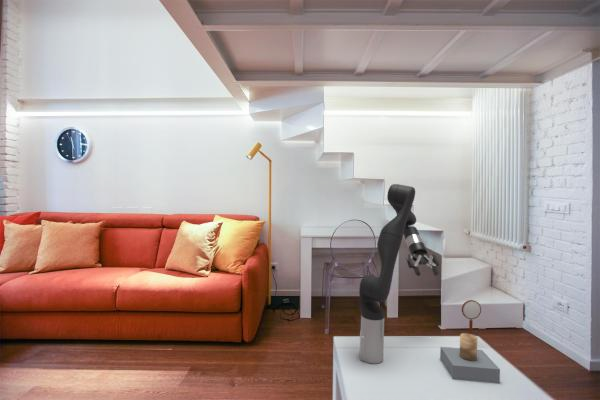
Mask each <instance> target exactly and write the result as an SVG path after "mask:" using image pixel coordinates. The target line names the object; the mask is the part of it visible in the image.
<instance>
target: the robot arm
mask: <svg viewBox="0 0 600 400" xmlns="http://www.w3.org/2000/svg"><path fill="white" fill-rule="evenodd" d="M415 196H416V188H415V187H413V186H409V185H404V184H399V183H393V184H391V185H390V186H389V188H388V191H387V196H386V197H387V199H386V200H387V201H388V203H389V205H390V206H391V207H392V209H393V210H394V211H395V214H396V216H394V217H393V218H392V219H391V220H390V221H389V222H387V223H386V224H385V225H384V226H383V227H382V228H381V230H380V232H379V237H378V240H377V243H376V246H377V247H376V248H377V251H378V256H379V259H380V263H381V264H380V265H381V267H380V268H381V269H380V273H379V276H375V275H370V274H365V275H364V276H363V277H362V278H361V281H360V282H359V293H358V294H359V309H360V312H361V313H360V331H359V359H360V361H361V362H365V363H368V364H372V365H373V364H381V363H383V361H384V345H385V344H384V342H385V341H384V340H385V310H384V309H383V308H382V307H381V306H380V305H379V304H378V303H384V302H386V301H387V299H388V298H389V295H390V291H391V287H392V282H393V276H394V272H395V265H396V261H397V257H398V256H399V255H398V254H399V252H400V251H399V250H400V249H401V245H402V241H403V237H404V240H405V241H406V246H407V248H408V250H409V253H410V254H407V255H406V256H405V257H406V258H405V260H406V262H407V266H408V268H409V269H413V271H414V272H415V273H414V274H415V275H416V276H418V277H420V276H421V275H422V274H421V271H420V267H419V265H420V266H422V265H423V266H425V265H426V266H427V267H430V268H431V270H432V272H433V275H434V277H436V276H438V275H439V270H438V268H439V266H440V262H439V260H438V258H437V257H436V255H435V254H432V255H431V254H430V255H429V253H428V250H427V248H426V246H425V243H424V241H423V238H422V237H421V235H420V233H419V231H418V228H417V227H415V226H414V225H415V224H416V223H417V217H416V215H415V213H413V212H412V210H411V209H412V206H413V204H414V201H415V199H416V198H415ZM413 261H414V262H413ZM377 302H378V303H377Z"/></svg>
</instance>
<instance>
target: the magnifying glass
mask: <svg viewBox="0 0 600 400" xmlns="http://www.w3.org/2000/svg"><path fill="white" fill-rule="evenodd" d="M461 312H462V315H463V316H464V318H466V319H468V320H469V325H468V326H469V327H468V328H469V329H468V334H472V335H473V322H474V321H473V320H475V319H477V318H478V317H479V316H480V315H481V313H482V307H481V305H480V303H479V302H478V301H477V300H473V299H470V300H469V299H468V300H466V301H465V302H464V303H463V304H462V306H461Z"/></svg>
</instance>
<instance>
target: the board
mask: <svg viewBox="0 0 600 400" xmlns="http://www.w3.org/2000/svg"><path fill="white" fill-rule="evenodd" d="M439 353H440V355H439V357H440V358H439V359H440V361H441V362H442V365H443V366H444V367H445V369H446V370H447V372H448V374H449V376H450V377H451V379H453V380H461V381H471V382H472V381H473V382H483V383H484V382H485V383H495V384H500V381H501V380H500V379H501V369H500V368H499V367H498V366H497V364H496V363H495V362H494V361H493V360H492V359H491V358H490V356H488V354H486V353H485V351H484V350H482V349H477V360H476V361H468V360H464V359H463V358H461V357H460V347H459V348H458V347H447V346H440V352H439Z"/></svg>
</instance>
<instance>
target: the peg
mask: <svg viewBox="0 0 600 400" xmlns="http://www.w3.org/2000/svg"><path fill="white" fill-rule="evenodd" d="M459 337H460V338H459V348H460V357H461V358H463V359H464V360H468V361H476V360H477V350H478V336H476V335H475V334H473V333H472V334H469V332H462V333H460V335H459Z"/></svg>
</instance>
